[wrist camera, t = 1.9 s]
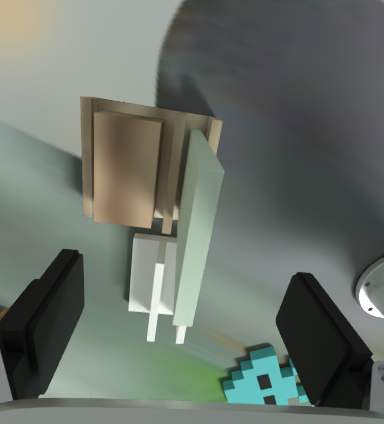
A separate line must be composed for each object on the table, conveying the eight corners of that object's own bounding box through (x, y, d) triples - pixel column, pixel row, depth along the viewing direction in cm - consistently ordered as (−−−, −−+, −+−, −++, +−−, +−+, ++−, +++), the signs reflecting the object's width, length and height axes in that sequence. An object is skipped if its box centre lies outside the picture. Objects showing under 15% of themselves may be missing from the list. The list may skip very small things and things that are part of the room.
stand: (199, 240, 36) (202, 268, 30) (186, 308, 41) (186, 344, 35) (135, 232, 35) (125, 260, 29) (130, 303, 40) (121, 338, 34)
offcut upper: (162, 121, 25) (160, 123, 23) (153, 218, 30) (150, 228, 27) (102, 111, 25) (94, 112, 22) (101, 212, 29) (94, 221, 27)
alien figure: (321, 332, 45) (213, 357, 47) (327, 343, 43) (214, 369, 45) (329, 396, 53) (237, 415, 54) (335, 408, 51) (239, 428, 52)
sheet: (200, 129, 28) (224, 171, 12) (187, 210, 32) (192, 326, 16) (190, 128, 28) (199, 167, 11) (178, 209, 32) (172, 325, 15)
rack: (215, 117, 29) (222, 120, 24) (197, 217, 34) (200, 237, 29) (92, 97, 28) (72, 96, 23) (93, 204, 33) (76, 223, 28)
